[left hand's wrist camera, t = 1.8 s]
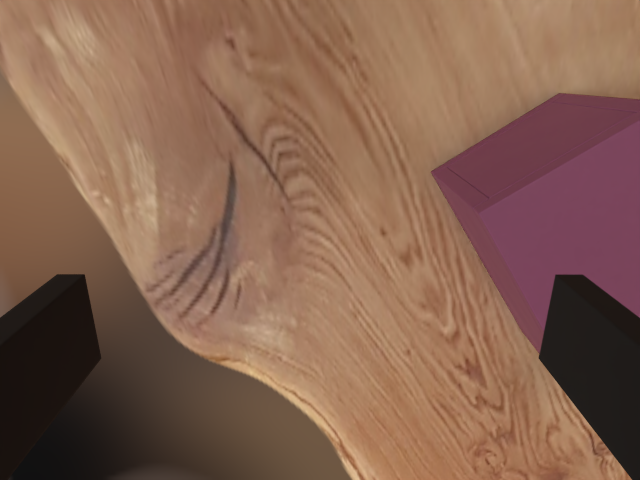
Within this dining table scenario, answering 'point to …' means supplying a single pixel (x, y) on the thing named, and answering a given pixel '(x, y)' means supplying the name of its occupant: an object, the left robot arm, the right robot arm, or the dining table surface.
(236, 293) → the dining table surface
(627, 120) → the cabinet
